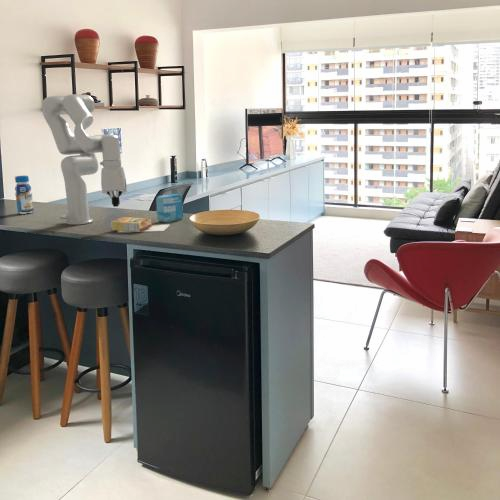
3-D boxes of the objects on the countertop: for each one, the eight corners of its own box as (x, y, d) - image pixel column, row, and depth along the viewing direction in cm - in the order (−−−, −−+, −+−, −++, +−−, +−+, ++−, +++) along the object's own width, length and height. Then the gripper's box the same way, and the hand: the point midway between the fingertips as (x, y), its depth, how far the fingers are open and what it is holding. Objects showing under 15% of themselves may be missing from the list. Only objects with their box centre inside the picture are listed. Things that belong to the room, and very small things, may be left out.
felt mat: (117, 232, 255) (117, 231, 254) (126, 226, 269) (126, 225, 269) (163, 231, 253) (163, 230, 253) (170, 224, 268) (170, 224, 268)
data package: (163, 222, 274) (161, 197, 271) (157, 221, 277) (155, 196, 274) (183, 219, 282) (182, 194, 280) (177, 218, 285) (176, 193, 283)
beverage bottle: (22, 212, 323) (18, 175, 318) (37, 211, 322) (32, 175, 317) (14, 214, 315) (9, 177, 310) (29, 214, 313) (25, 176, 309)
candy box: (122, 216, 265) (150, 217, 258) (124, 225, 266) (152, 227, 259) (110, 221, 257) (138, 222, 251) (111, 231, 259) (140, 232, 252)
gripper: (92, 165, 253) (96, 208, 257) (126, 164, 252) (130, 207, 256) (98, 164, 260) (102, 205, 264) (131, 163, 259) (134, 204, 263)
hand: (116, 206), depth 260 cm, fingers closed
